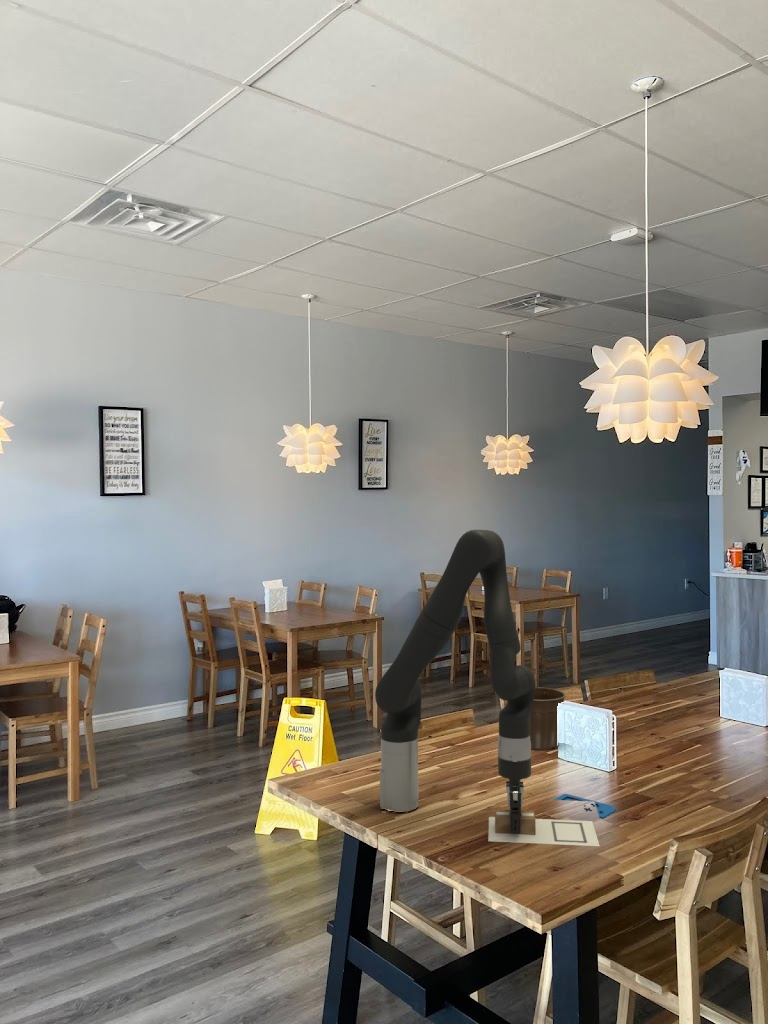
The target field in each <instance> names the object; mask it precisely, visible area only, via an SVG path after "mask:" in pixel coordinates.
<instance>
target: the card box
mask: <svg viewBox="0 0 768 1024" xmlns="http://www.w3.org/2000/svg"><path fill="white" fill-rule="evenodd" d="M512 811H516V812H519V810H512ZM509 813H510V809H494V814H495V815H494V817H495V833H503V834H512V833H511V831H510V816H509ZM535 813H536V812H535V810H521V814H522V816H521V818H520V833H519V834H525V835H536V824H535V819H536V814H535Z"/></svg>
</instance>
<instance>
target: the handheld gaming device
mask: <svg viewBox="0 0 768 1024" xmlns="http://www.w3.org/2000/svg"><path fill="white" fill-rule="evenodd" d="M552 800H553V801H568V802H569V801H574V802H575V801H577V802H594V803H590V806H592V807H593V808H596V810H597V811H596V812H597V814H598V817H599V819H600V818H601V819H602V820H605V819H606V818H608V817H609V816H611V815H612V814H614V813H615V812H616V807H615V806H614V805H611V804H606V803H604V802H599V801H596V800H592V799H587V798H583V797H581V796H576V795H572V794H568V793H562V794H561V795H559V796H557V797H555V798H553V799H552ZM583 807H586V805H585V804H584V805H583ZM583 810H585V812H588V811H589V812H593V810H592V809H591V807H588V808H583ZM613 812H614V813H613ZM610 814H611V815H610ZM607 816H608V817H607Z"/></svg>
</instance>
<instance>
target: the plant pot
mask: <svg viewBox="0 0 768 1024" xmlns="http://www.w3.org/2000/svg"><path fill="white" fill-rule="evenodd" d="M565 698H566V693H565V692H564V691H562V690H559V689H556V688H549V687H540V686H539V687H538V686H535V695H534V700H533V705H532V709H531V713H530V741H531V750H535V751H536V750H537V751H545V750H546V751H548V750H549V751H550V750H551V749H556V748H558V747H557V706H558V703H561V702H564V700H565Z"/></svg>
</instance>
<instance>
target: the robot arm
mask: <svg viewBox="0 0 768 1024" xmlns="http://www.w3.org/2000/svg"><path fill="white" fill-rule="evenodd" d="M504 544H505V543H504V541H503V539H502V537H501V536H500V535H499V534H498V533H497V532H495V531H493V530H489V529H470V530H469V531H466V532H465V533H464V534H462V535H461V536H460V538H459V539H458V540H457V543H456V545H455V547H454V548H453V551H452V553H451V555H450V559H449V560H448V563H447V565H446V568H445V569H444V571H443V573H442V576H441V578H439V579H440V580H439V581H438V582H437V584H436V586H435V588H434V589H433V591H432V592H431V594H430V596H429V598H428V600H427V601H426V602H425V605H424V606H423V608H422V609H421V611H420V613H419V615H418V616H417V619H416V620H415V622H414V624H413V626H412V628H411V630H410V631H409V634H407V635H408V636H407V637H406V639H405V641H404V643H403V644H402V646H401V649H400V650H399V653H398V654H397V656H396V657H395V659H394V661H393V662H392V663H391V665H390V666H389V668H387V670H386V672H385V673H384V674H383V676H382V677H381V678H380V680H379V682H377V685H376V687H375V693H374V698H375V703H376V705H377V707H378V708H379V710H380V711H382V712H383V713H385V714H386V717H385V719H384V722H383V723H382V725H381V728H380V764H381V765H380V770H379V808H380V807H383V808H387V809H389V810H393V811H408V810H413V809H416V808H417V807H418V808H419V729H420V726H421V721H422V720H421V719H422V688H421V685H420V684H421V683H420V680H419V678H420V676H421V674H422V673H423V671H425V669H426V668H427V667H428V666H429V665H430V663H431V662H433V660H434V659H435V658H436V657H437V656H438V655H439V654H440V653H441V652H442V650H443V649H444V648H445V647H446V646H447V644H448V642H449V641H450V640H451V638H452V636H453V634H454V633H455V631H456V629H458V626H459V624H460V621H461V619H462V616H463V611H464V605H465V601H466V596H467V593H468V591H469V589H470V587H471V585H472V584H473V583H474V581H475V579H476V578H477V576H478V574H479V576H480V578H481V581H482V586H483V593H484V607H483V608H484V609H483V620H484V621H483V622H484V624H483V625H484V629H485V634H486V639H487V642H488V646H489V650H490V683H491V686H492V689H493V691H494V693H495V694H496V696H497V697H498V698H499V699H501V700H503V701H507V702H506V705H505V706H504V707H503V708H502V709H501V710H500V711H499V712H498V713H499V714H498V740H497V773H498V775H499V776H500V777H501V778H504V779H508V780H505V792H506V794H507V795H506V796H507V797H506V798H507V802H506V803H507V806H508V807H509V810H510V813H509V816H510V831H511V833H512V834H519V833H520V818H521V816H522V814H521V811H522V807H523V804H524V800H523V799H524V798H523V797H524V796H523V795H524V791H525V790H524V789H525V788H524V781H521V780H523V779H524V780H526V779H528V778H530V776H531V775H532V749H531V741H530V713H531V709H532V705H533V700H534V695H535V687H536V679H535V675H534V673H533V671H532V670H531V668H529V667H527V666H525V665H523V664H522V665H521V664H520V665H519V664H518V665H516V663H515V660H516V659H515V657H516V656H517V655H518V654H519V653H520V652H521V642H520V639H519V633H518V629H517V626H516V621H515V617H514V614H513V608H512V602H511V598H510V591H509V583H508V574H507V563H506V550H505V545H504ZM418 808H417V809H418ZM417 809H416V810H417ZM512 810H519V812H516V811H512Z"/></svg>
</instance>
